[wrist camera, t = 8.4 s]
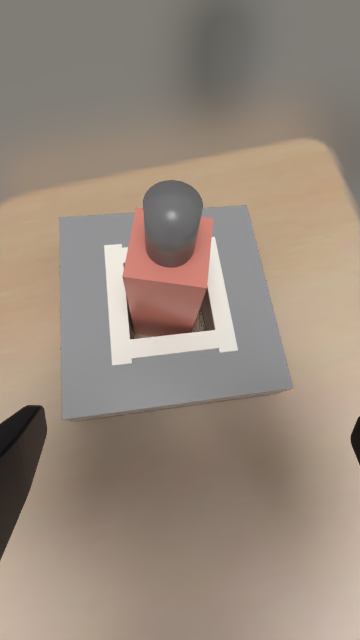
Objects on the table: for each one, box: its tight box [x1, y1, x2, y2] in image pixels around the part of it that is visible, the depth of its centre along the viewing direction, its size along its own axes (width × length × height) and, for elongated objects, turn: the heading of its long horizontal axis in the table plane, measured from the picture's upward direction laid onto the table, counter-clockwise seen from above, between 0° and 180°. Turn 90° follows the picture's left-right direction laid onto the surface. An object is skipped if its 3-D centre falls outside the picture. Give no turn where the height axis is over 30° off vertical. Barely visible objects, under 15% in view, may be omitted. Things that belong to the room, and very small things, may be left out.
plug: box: [122, 180, 213, 336], centre depth 18 cm, size 4×4×12 cm
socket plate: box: [59, 205, 293, 421], centre depth 22 cm, size 14×14×3 cm
